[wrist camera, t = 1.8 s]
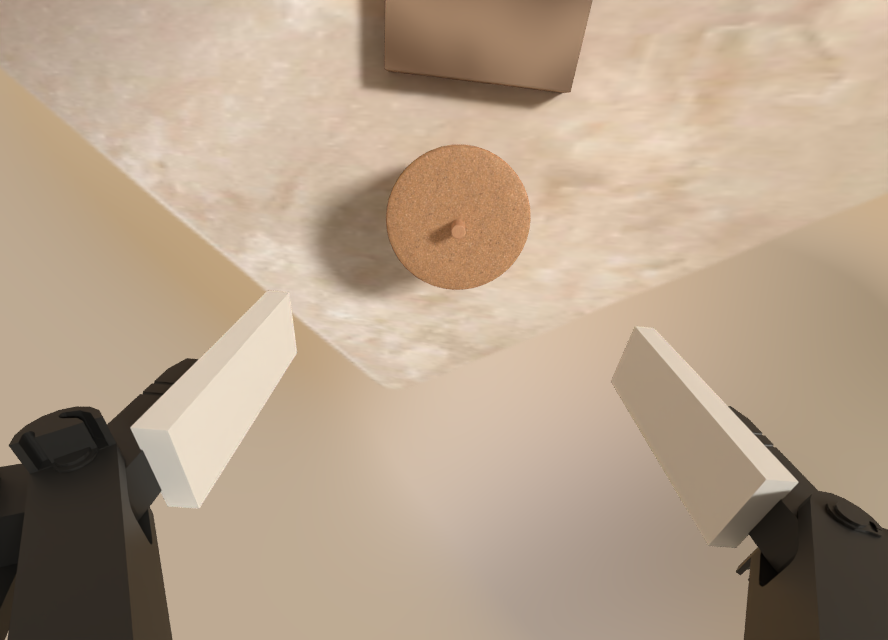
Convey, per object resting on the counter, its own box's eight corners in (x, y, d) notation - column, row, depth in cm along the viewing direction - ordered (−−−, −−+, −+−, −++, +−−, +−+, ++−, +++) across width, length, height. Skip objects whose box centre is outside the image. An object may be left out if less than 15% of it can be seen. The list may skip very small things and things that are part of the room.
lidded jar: (384, 232, 35) (364, 271, 27) (422, 115, 30) (411, 118, 22) (484, 271, 37) (493, 318, 29) (536, 167, 32) (565, 188, 24)
